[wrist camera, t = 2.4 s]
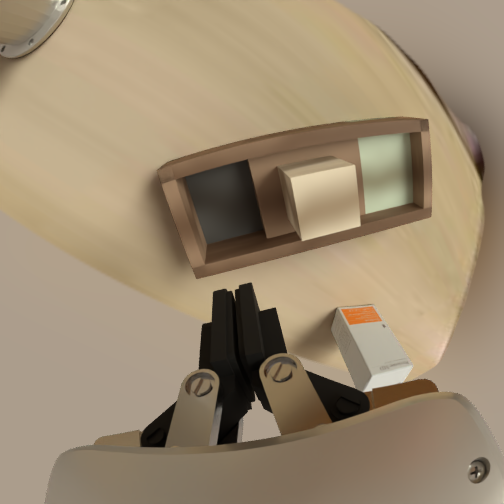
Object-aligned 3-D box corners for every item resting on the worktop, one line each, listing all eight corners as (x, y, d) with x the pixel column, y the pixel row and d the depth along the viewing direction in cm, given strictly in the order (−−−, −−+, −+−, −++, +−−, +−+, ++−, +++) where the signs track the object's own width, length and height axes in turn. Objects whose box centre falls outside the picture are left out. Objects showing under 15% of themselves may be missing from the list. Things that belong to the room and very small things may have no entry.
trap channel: (167, 161, 24) (156, 170, 20) (402, 116, 23) (428, 119, 19) (199, 255, 29) (196, 279, 25) (408, 203, 28) (431, 217, 24)
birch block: (277, 166, 23) (290, 178, 18) (330, 155, 22) (355, 164, 18) (287, 218, 25) (301, 241, 20) (337, 206, 25) (360, 226, 20)
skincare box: (374, 302, 35) (415, 364, 24) (365, 325, 36) (400, 387, 26) (335, 306, 34) (372, 376, 23) (328, 329, 36) (358, 398, 25)
